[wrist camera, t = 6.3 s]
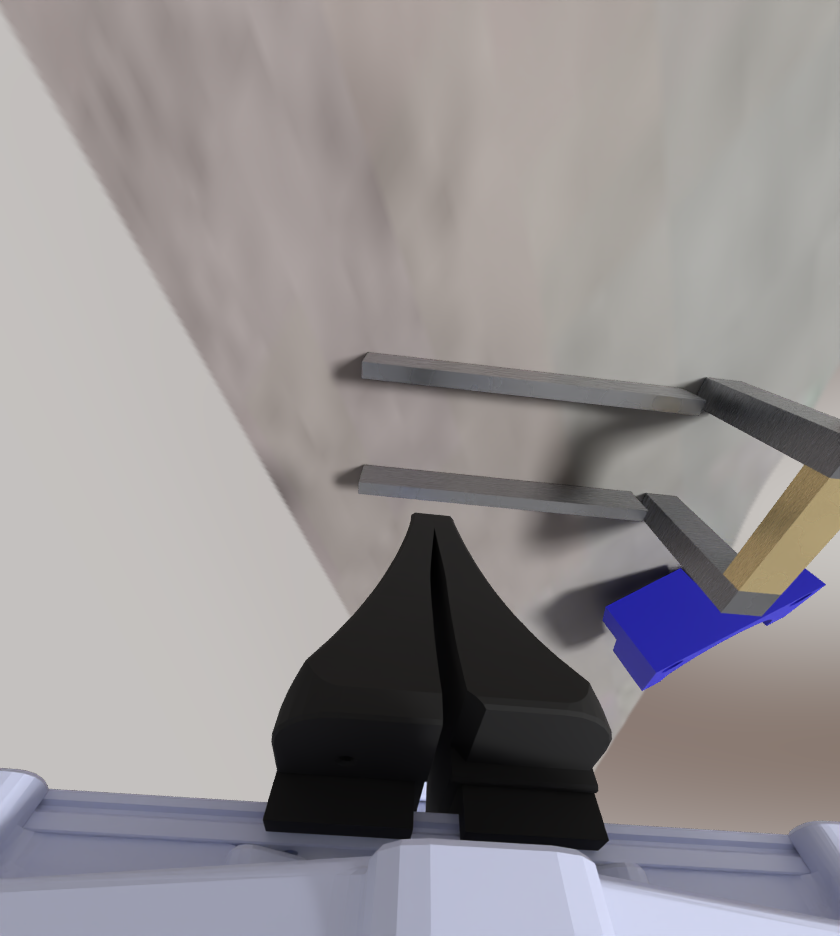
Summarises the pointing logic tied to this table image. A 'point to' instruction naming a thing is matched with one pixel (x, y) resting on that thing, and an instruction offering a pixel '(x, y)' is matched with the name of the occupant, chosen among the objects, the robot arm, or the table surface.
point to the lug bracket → (786, 525)
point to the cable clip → (683, 623)
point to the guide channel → (519, 384)
